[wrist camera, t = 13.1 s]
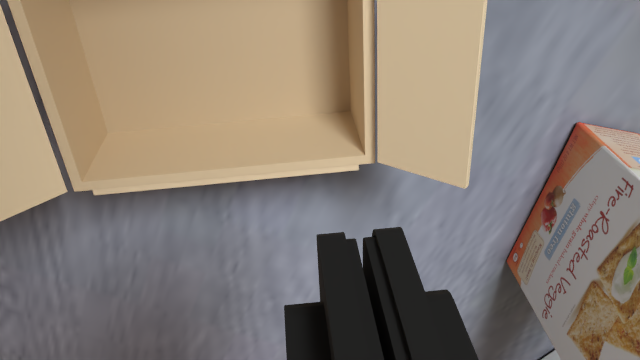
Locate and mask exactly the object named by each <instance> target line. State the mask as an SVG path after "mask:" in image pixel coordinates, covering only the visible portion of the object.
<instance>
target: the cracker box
mask: <svg viewBox="0 0 640 360" xmlns="http://www.w3.org/2000/svg"><path fill="white" fill-rule="evenodd" d="M507 263H508V265H509V267H510V269H511V271H512V272H513V274H514V276H515V278H516V280H517V281H518V283H519V285H520V287H521V289H522V290H523V292H524V294H525V296H526V298H527V299H528V301H529V303H530V305H531V307H532V308H533V310H534V312H535V314H536V316H537V317H538V319H539V321H540V323H541V325H542V326H543V328H544V330H545V332H546V334H547V335H548V337H549V339H550V341H551V343H552V344H553V346H554V348H555V350H556V352H557V353H558V355H559V357H560V359H561V360H640V134H637V133H633V132H628V131H623V130H617V129H611V128H606V127H601V126H596V125H590V124H585V123H581V122H578V123H576V126H575V128H574V130H573V132H572V134H571V136H570V138H569V140H568V142H567V144H566V146H565V148H564V150H563V152H562V154H561V156H560V158H559V160H558V162H557V164H556V166H555V168H554V170H553V172H552V173H551V175H550V177H549V179H548V181H547V183H546V185H545V187H544V189H543V191H542V193H541V195H540V197H539V199H538V201H537V203H536V204H535V206H534V208H533V210H532V212H531V214H530V216H529V218H528V220H527V222H526V224H525V226H524V228H523V230H522V232H521V234H520V236H519V237H518V240H517V241H516V243H515V245H514V247H513V249H512V251H511V253H510V255H509V257H508V259H507Z"/></svg>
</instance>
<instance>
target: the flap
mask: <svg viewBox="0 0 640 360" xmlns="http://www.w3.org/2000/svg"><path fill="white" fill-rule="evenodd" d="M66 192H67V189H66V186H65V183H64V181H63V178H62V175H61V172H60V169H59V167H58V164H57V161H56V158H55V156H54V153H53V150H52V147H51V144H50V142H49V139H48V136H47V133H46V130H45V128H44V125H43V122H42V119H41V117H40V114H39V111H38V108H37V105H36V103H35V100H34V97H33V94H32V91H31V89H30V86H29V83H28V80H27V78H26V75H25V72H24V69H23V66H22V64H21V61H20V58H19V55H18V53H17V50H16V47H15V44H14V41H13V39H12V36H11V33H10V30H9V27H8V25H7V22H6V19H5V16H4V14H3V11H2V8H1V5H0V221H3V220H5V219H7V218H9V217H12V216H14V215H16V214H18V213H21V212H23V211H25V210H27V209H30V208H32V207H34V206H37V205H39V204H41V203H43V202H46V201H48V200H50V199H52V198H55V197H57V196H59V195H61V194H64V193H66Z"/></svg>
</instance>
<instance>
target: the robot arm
mask: <svg viewBox="0 0 640 360" xmlns="http://www.w3.org/2000/svg"><path fill="white" fill-rule="evenodd" d="M317 252H318V269H319V286H320V302H315V303H304V304H294V305H284V311H285V332H286V352H287V360H478V357H477V355H476V352H475V350H474V347H473V345H472V343H471V340H470V338H469V335H468V333H467V331H466V328H465V326H464V323H463V321H462V319H461V316H460V314H459V311H458V309H457V307H456V304H455V302H454V299H453V297H452V295H451V293H450V292H449V291H448V290H438V291H428V292H425V291H424V288H423V285H422V282H421V280H420V277H419V274H418V271H417V268H416V266H415V263H414V260H413V257H412V254H411V252H410V249H409V246H408V243H407V241H406V238H405V235H404V232H403V230H402V228H401V227H396V228H385V229H374V230H373V233H372V237H366V238H363V267H362V263H361V259H360V255H359V250H358V246H357V242H356V239H346V238H345V234H344V232H341V233H330V234H319V235H317Z"/></svg>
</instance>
